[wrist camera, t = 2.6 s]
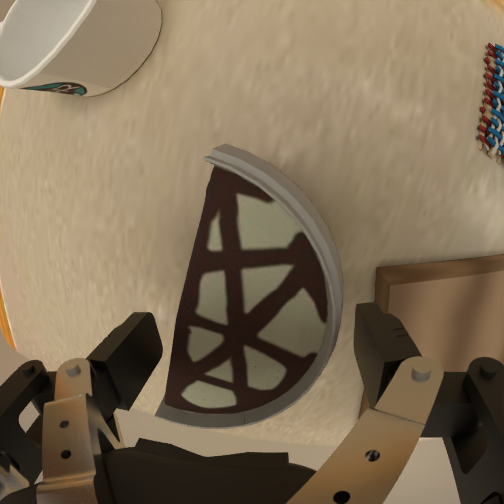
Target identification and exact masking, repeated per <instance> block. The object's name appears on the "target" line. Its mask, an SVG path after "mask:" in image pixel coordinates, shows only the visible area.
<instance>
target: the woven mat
mask: <svg viewBox="0 0 504 504" xmlns="http://www.w3.org/2000/svg"><path fill="white" fill-rule="evenodd" d="M493 51H494V52H495V53H496V55H497V56H496V55H495V54H494V53H493ZM485 61H486V63H487V65H488V66H487V72H486V74H485V76H486V77H487V78H486V90H485V98H484V105H483V106H484V107H481V112H482V113H483V115H482V121H481V124H480V126H479V130H480V132H479V137H478V149H479V150H481V148H482V145H483V144H484V145H485V147H486V149H487V150H488V155H489V156H490V157H491V158H493V157H494V156H495V155H496V154H497V158H496V162H497V163H498V164H500V162H501V158H502V157H503V158H504V70H503V69H504V46H502V47H501V46H499V45H497V44H495V47H494V46H493V45H492V44H490V43H489V44H488V52H487V57H485ZM493 74H494V77H493ZM492 81H493V82H494V85H492ZM491 98H492V99H493V102H492V101H491ZM487 125H489V126H490V127H489V128H488V129H487ZM485 134H487V135H488V137H487V138H485ZM498 143H499V144H498Z"/></svg>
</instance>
